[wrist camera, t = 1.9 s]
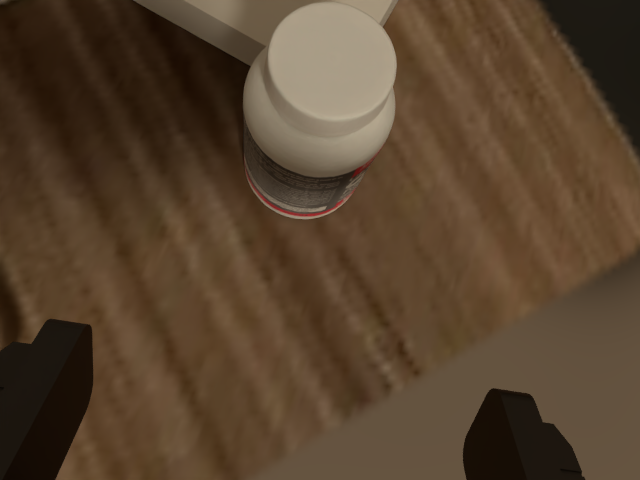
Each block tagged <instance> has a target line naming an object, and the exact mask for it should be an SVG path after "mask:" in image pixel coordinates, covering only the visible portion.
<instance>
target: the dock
mask: <svg viewBox="0 0 640 480" xmlns="http://www.w3.org/2000/svg"><path fill="white" fill-rule="evenodd" d="M133 1H135V2H137V3H138V4H140V5H142V6H144V7H146V8H147V9H149V10H151V11H153V12H155V13H156V14H158V15H160V16H162V17H163V18H165V19H167V20H169V21H171V22H172V23H174V24H176V25H178V26H180V27H181V28H183V29H185V30H187V31H189V32H190V33H192V34H194V35H196V36H197V37H199V38H201V39H203V40H205V41H206V42H208V43H210V44H212V45H214V46H215V47H217V48H219V49H221V50H223V51H224V52H226V53H228V54H230V55H231V56H233V57H235V58H237V59H239V60H240V61H242V62H244V63H246V64H248V65H249V66H251V65H252V64H253V62H254V60H255V59H256V57H257V56H258V55H259V54H260V52H261V51H262V50H263V49H264V48H265V47H266V46H268V45H269V42H270V39H271V37H272V34H273V32H274V31H275V29H276V27H277V26H278V25H279V23H280V22H281V21H282V20H283V19H284V18H285V17H286V16H287V15H288V14H290V13H291V12H293V11H294V10H296V9H298V8H300V7H303V6H305V5H308V4H312V3H317V2H339V3H343V4H348V5H351V6H353V7H356V8H358V9H360V10H362V11H364V12H365V13H367V14H368V15H370V16H371V17H373V18H374V19H375V20H376V21H377V22H378V23H379V24H380V25H381V26H382V27H383V26H384V24H385V22H386V20H387V19H388V17H389V15H390V14H391V12H392V10H393V8H394V7H395V5H396V3H397V2H398V0H133Z"/></svg>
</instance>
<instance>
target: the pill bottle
mask: <svg viewBox="0 0 640 480" xmlns="http://www.w3.org/2000/svg"><path fill="white" fill-rule="evenodd" d="M396 67H397V64H396V55H395V51H394V48H393V45H392V42H391V40H390V38H389V36H388V35H387V33H386V32H385V30H384V29H383V28H382V26H381V25H380V24H379V23H378V22H377V21H376V20H375V19H374V18H373V17H371V16H370V15H368V14H367V13H365V12H364V11H362V10H360V9H358V8H356V7H353V6H351V5H348V4H343V3H339V2H317V3H312V4H308V5H305V6H303V7H300V8H298V9H296V10H294V11H293V12H291V13H290V14H288V15H287V16H286V17H285V18H284V19H283V20H282V21H281V22H280V23H279V25H278V26H277V27H276V29H275V31H274V32H273V34H272V37H271V39H270V42H269V45H268V46H266V47H265V48H264V49H263V50H262V51H261V52H260V54H259V55H258V56H257V57H256V59H255V60H254V62H253V64H252V65H251V67H250V69H249V72H248V75H247V78H246V81H245V85H244V92H243V118H244V132H243V139H244V140H243V147H244V166H245V172H246V176H247V180H248V182H249V184H250V186H251V188H252V190H253V192H254V193H255V194H256V196H257V197H258V198H259V199H260V200H261V201H262V202H263V203H264V204H265V205H266V206H267V207H269V208H270V209H272V210H273V211H275V212H277V213H279V214H281V215H284V216H287V217H290V218H296V219H312V218H318V217H321V216H324V215H327V214H329V213H331V212H333V211H335V210H336V209H337V208H339V207H340V206H342V205H343V204H344V203H345V202H346V201H347V200H348V198H349V197H350V196H351V195H352V193H353V192H354V190H355V189H356V187H357V186H358V184H359V183H360V181H361V179H362V177H363V176H364V174H365V173H366V171H367V169H368V168H369V166H370V165H371V163H372V162H373V160H374V158H375V157H376V155H377V154H378V153H379V151H380V150H381V148H382V146H383V145H384V143H385V141H386V139H387V137H388V135H389V133H390V130H391V128H392V124H393V121H394V115H395V96H394V90H393V84H394V81H395V76H396Z"/></svg>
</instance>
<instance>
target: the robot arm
mask: <svg viewBox="0 0 640 480" xmlns="http://www.w3.org/2000/svg"><path fill="white" fill-rule="evenodd" d="M92 387H93V348H92V328H91V326H90V325H88V324H81V323H75V322H68V321H62V320H55V319H49V320H47V321H46V322H45V324H44V325H43V327H42V328H41V330H40V331H39V333H38V335H37V336H36V338H35V339H34V341H33V342H32V344H26V343H20V342H12V343H11V344H10V345H8V346H7V347H5V348H4V349H3V350H1V351H0V480H55V479H56V477H57V474H58V472H59V470H60V468H61V466H62V463H63V461H64V459H65V457H66V455H67V452H68V450H69V448H70V446H71V443H72V441H73V439H74V437H75V435H76V432H77V430H78V428H79V426H80V424H81V421H82V419H83V417H84V415H85V412H86V410H87V407H88V404H89V401H90V397H91V393H92ZM463 463H464V470H465V474H466V479H467V480H585V478H584V477H582V475H581V474H582V471H581V468H580V466H579V463H578V461H577V458H576V456H575V453H574V451H573V448H572V447H571V445H570V444H569V443H568V442H567V440H566V439H565V438H564V437H563V435H562V434H561V433H560V432H559V430H558V429H557V428H556V427H555V426H554V424H550V423H543V422H542V419H541V416H540V414H539V411H538V408H537V406H536V403H535V401H534V399H533V397H532V396H531V395H530V394H527V393H521V392H514V391H508V390H501V389H494V388H493V389H491V390H490V391H489V392H488V393H487V395H486V397H485V399H484V401H483V403H482V405H481V407H480V409H479V411H478V413H477V415H476V417H475V420H474V422H473V423H472V425H471V427H470V430H469V431H468V433H467V436H466V438H465V442H464V448H463Z"/></svg>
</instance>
